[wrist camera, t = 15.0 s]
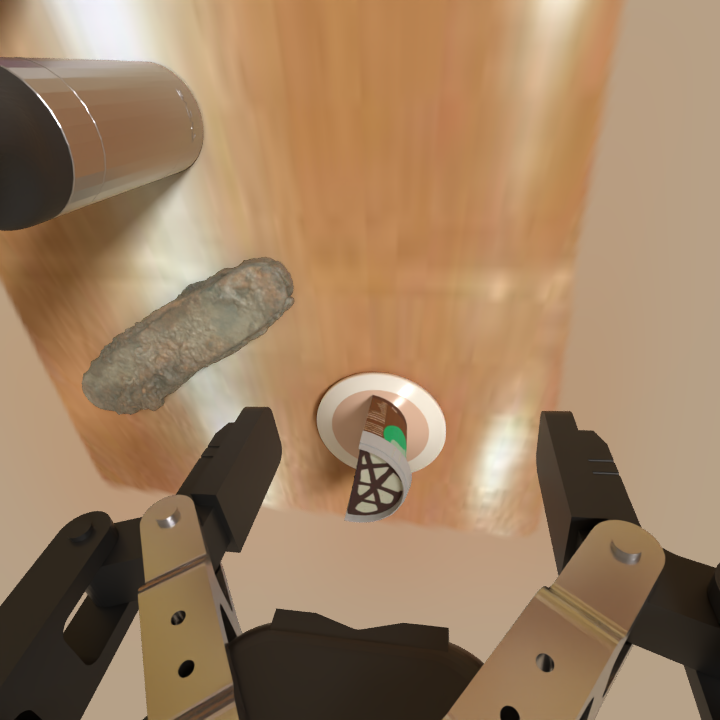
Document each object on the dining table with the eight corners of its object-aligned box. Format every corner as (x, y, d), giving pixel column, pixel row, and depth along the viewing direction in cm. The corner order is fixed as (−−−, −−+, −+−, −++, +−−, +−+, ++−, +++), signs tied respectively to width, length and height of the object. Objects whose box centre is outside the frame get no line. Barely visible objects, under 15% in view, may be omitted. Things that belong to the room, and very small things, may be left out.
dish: (331, 466, 63) (328, 474, 61) (308, 370, 54) (304, 377, 53) (448, 470, 59) (448, 479, 58) (443, 367, 51) (443, 375, 50)
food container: (406, 470, 58) (397, 536, 50) (359, 459, 59) (343, 523, 50) (427, 396, 51) (421, 459, 43) (374, 384, 52) (359, 444, 44)
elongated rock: (321, 302, 51) (267, 226, 48) (309, 321, 46) (248, 238, 43) (128, 419, 64) (76, 365, 61) (104, 442, 60) (46, 386, 57)
